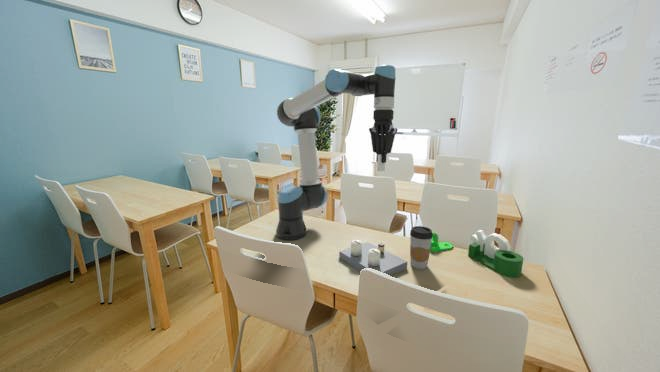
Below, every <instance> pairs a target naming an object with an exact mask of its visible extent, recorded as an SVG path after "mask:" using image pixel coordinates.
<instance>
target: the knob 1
mask: <svg viewBox="0 0 660 372" xmlns="http://www.w3.org/2000/svg"><path fill="white" fill-rule="evenodd" d="M362 244H363V242H362V241H361V240H359V239H353V240H351V242H350V248H351V254H352V255H354V256H359V255H361V254H362Z"/></svg>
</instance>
